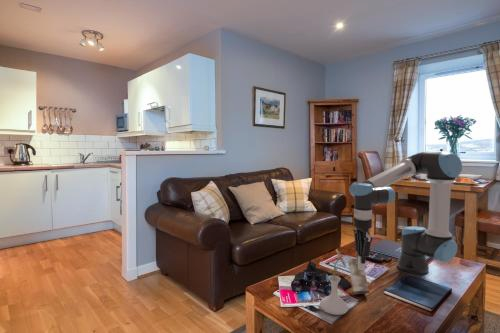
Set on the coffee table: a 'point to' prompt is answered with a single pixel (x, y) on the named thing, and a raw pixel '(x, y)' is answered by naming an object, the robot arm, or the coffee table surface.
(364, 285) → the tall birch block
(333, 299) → the flower in vase
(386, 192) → the robot arm
